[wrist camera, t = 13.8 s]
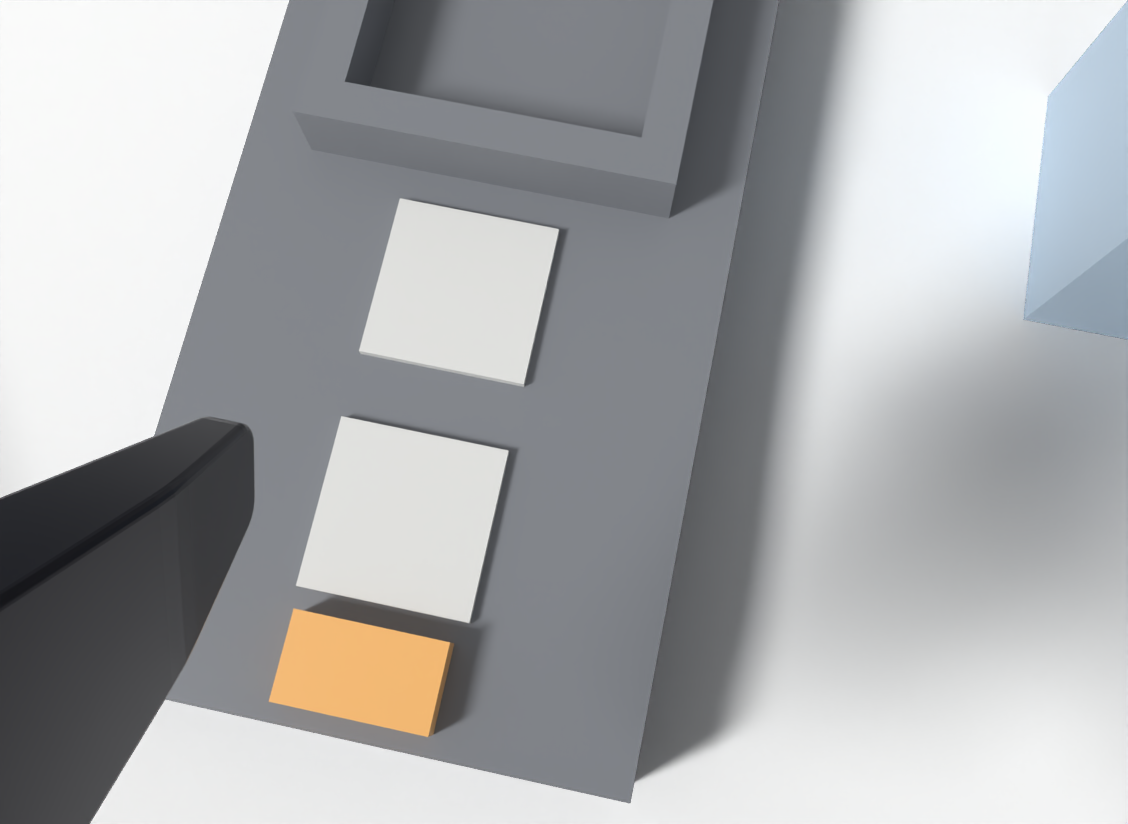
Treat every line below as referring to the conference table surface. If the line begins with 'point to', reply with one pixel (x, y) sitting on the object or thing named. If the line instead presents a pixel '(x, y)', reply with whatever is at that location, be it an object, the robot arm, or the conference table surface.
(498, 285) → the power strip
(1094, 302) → the pale blue block
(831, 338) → the conference table surface
